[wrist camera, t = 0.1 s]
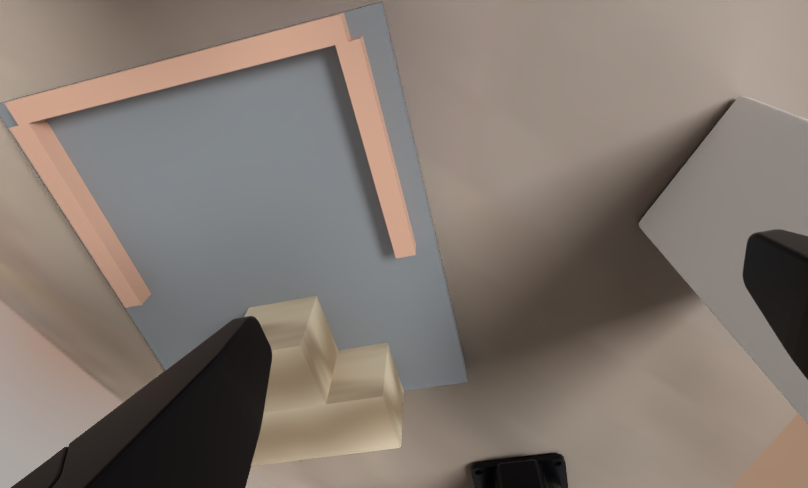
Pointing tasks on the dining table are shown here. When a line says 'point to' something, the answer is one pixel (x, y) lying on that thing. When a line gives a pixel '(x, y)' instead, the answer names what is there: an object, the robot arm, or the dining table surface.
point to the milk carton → (738, 223)
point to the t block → (323, 389)
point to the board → (255, 190)
